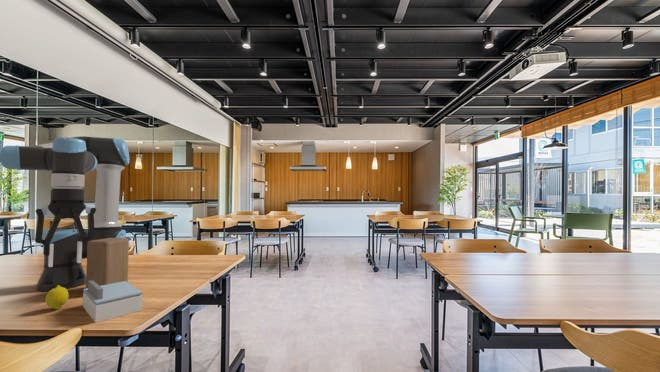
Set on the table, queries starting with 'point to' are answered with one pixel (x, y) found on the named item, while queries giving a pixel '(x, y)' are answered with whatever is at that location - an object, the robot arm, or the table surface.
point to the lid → (110, 291)
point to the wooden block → (107, 261)
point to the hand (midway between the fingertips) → (65, 264)
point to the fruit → (57, 297)
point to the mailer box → (112, 307)
